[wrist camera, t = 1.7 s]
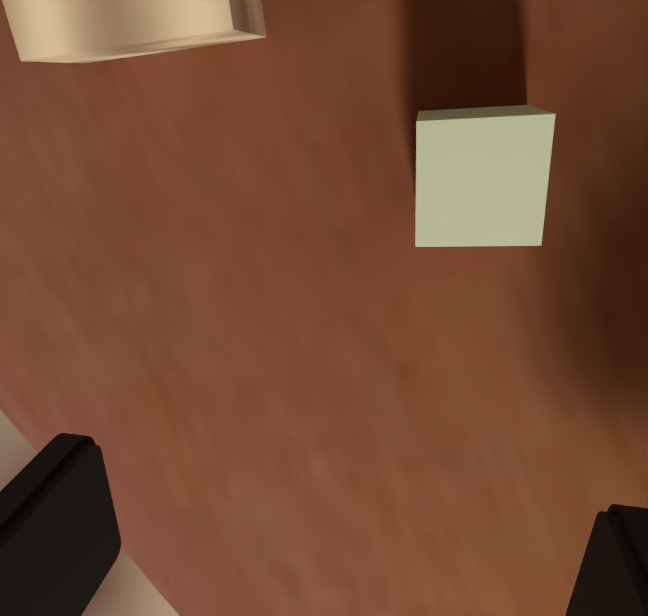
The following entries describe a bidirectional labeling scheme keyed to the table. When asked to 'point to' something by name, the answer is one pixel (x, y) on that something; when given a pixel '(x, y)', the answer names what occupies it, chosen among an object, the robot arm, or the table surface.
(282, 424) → the table surface
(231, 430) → the table surface
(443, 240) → the sage block
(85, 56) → the maple block
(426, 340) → the table surface
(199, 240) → the table surface
